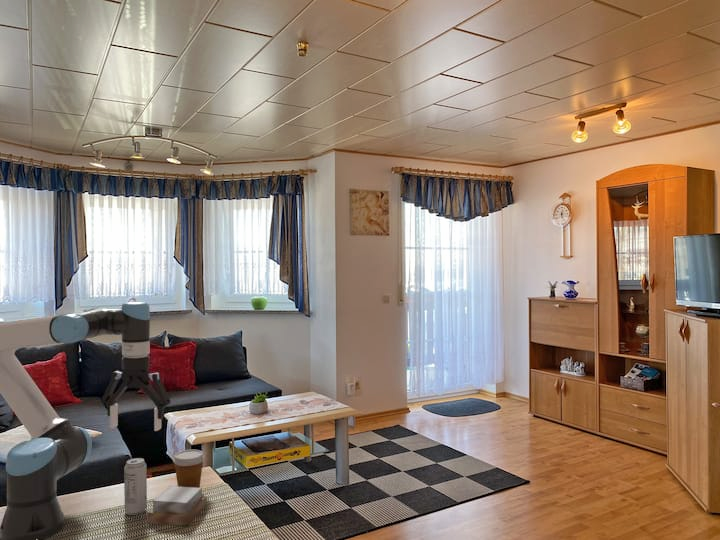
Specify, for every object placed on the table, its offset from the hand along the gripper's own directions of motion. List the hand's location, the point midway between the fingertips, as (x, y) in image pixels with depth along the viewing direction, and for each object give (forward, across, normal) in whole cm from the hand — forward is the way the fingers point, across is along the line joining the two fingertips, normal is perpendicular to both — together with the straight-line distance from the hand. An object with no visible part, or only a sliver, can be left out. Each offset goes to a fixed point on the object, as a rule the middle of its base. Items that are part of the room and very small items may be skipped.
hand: (135, 428), depth 162 cm
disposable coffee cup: (+25, +9, +15) cm, 30 cm away
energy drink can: (+25, 0, 0) cm, 25 cm away
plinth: (+24, +13, 0) cm, 28 cm away
